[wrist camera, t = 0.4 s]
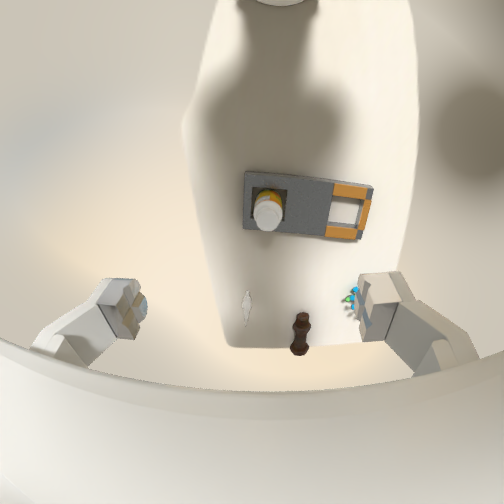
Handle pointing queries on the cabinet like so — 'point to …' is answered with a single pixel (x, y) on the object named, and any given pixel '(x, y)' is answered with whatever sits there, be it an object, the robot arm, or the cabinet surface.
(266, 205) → the supplement bottle
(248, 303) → the stone spearhead
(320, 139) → the cabinet surface
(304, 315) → the bolt
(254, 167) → the cabinet surface
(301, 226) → the gray and orange holder
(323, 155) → the cabinet surface
